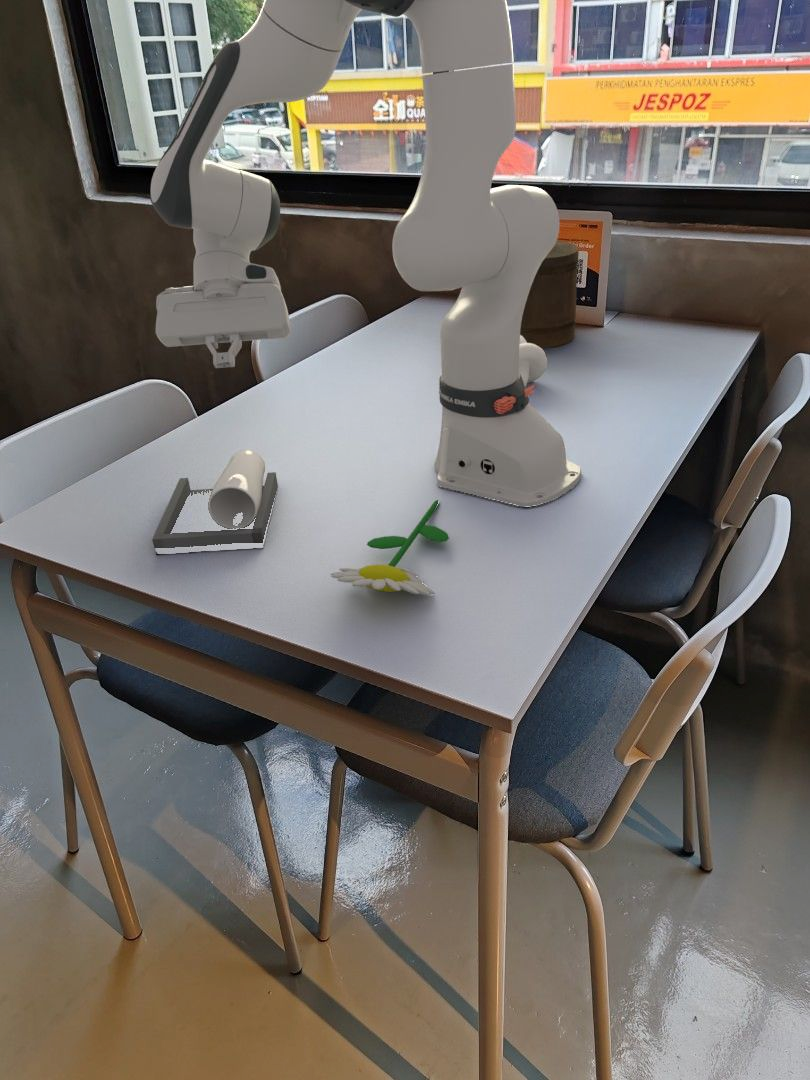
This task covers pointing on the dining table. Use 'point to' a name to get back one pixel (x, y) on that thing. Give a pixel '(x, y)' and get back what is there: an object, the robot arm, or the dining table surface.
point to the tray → (205, 538)
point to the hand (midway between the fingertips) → (224, 366)
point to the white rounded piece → (531, 361)
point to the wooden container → (552, 299)
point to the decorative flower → (394, 562)
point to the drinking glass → (238, 490)
